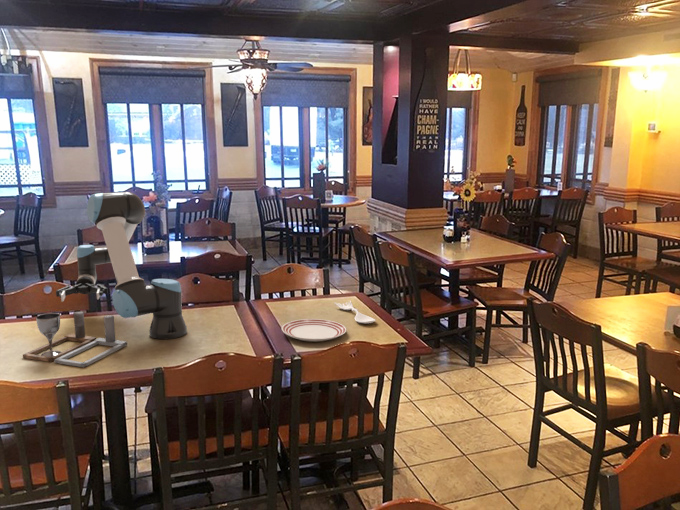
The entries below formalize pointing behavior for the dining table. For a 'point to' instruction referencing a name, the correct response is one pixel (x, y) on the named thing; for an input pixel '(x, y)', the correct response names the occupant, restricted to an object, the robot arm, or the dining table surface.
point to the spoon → (359, 317)
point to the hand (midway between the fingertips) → (80, 297)
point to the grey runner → (108, 341)
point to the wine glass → (49, 329)
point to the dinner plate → (313, 329)
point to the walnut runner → (77, 336)
